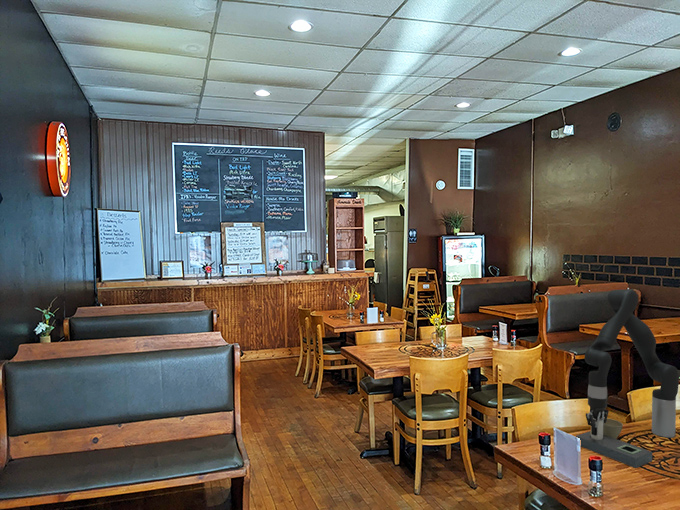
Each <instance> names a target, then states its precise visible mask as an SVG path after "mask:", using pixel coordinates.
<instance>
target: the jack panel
mask: <svg viewBox="0 0 680 510" xmlns="http://www.w3.org/2000/svg"><path fill="white" fill-rule="evenodd" d="M576 437H578V438H580V440H581V446H580V447H581V448H584V449H586V450H589V451H591V452H594V453H597V454H599V455H601V456H604V457H606V458H609V459H612V460H614V461H616V462H620V463H622V464H624V465H626V466H629V467H631V468H634V469H637V468H640V467H642V466H645V465H647V464H649V463H652V462H653V451H651V450H648V449H645V448H643V447H640V446H636V445H634V444H631V443H628V442H626V441H623V440H620V439H617V438H616V439H615V438H612V437H609V436H606V435H603V439H602V440H599V441H598V440H596V439H593V438H591V434H590V430H589V431H587V432H583V433H581V434H576V435H575V438H576Z"/></svg>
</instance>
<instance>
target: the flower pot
mask: <svg viewBox="0 0 680 510" xmlns="http://www.w3.org/2000/svg"><path fill="white" fill-rule="evenodd" d="M622 430H623V423H622V422H620V421H619V420H616V419H613V418H607V421H606V423H604V425H603V435H606V436H609V437H612V438H615V439H617V438H618V437H619V436H620V435H621V433H622Z"/></svg>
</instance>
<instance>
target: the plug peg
mask: <svg viewBox="0 0 680 510" xmlns="http://www.w3.org/2000/svg"><path fill="white" fill-rule="evenodd" d="M593 419H594V418H593ZM595 420H596V419H595ZM594 424H595V421H594ZM589 431H590V434H591V438H593V439H596V440H598V441H599V440H602V439H603V420H600V419H599V422H598V423H597V435H596V436H595V435H592V433H591V429H590V430H589Z"/></svg>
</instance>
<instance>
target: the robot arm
mask: <svg viewBox="0 0 680 510" xmlns="http://www.w3.org/2000/svg"><path fill="white" fill-rule="evenodd" d="M638 295H639V294H638V293H637V292H636V291H635V290H633V289H614V290H611V291H610V292H608V294H607V302H608V305H609V307H610V308H611V309H612V311H613V313H614V315H613V316H612V318H610V319H608V321H607V322H606V323H605V324H604V325H602V327H601V328H600V331H599V333H598V335H597V338H596V339H595V341H593V342H592V344H591V345H590V346H589V347H588V349H587V350H586V351H585V353H584V361H585V363H586V364H588V365H589V366H594V367H598V370H591V371H589V373H588V386H587V405H588V406H589V412H588V413H587V412H586V413H585V417H586V423H587V426H590V430H591V433H592V435H595V436H596V435H597V423H598V422H599V419H600V420H603V425H604V423H606V421H607V419H608V416H609V412H610V411H609V409H606V408H607V407H608V386H607V382H608V381H607V380H608V378H607V377H608V376H609V375H608V374H609V370H610V368H611V364H612V359H613V358H612V356H611V354H610V353H609V352H607V351H608V350H612V349H613V347H614V346H615V343H616V341H617V339H618V336H619V335H620V333H621V330H622V329H623V327H624V329H625V331H626V332H627V334H628V336H629V338H630V340H631V341H632V343H633V346H634V347H635V349H636V350H637V352H638V354H639V356H640V357H641V359H642V362H643V364H644V366H645V369H646V371H647V374H648V375H649V377H650V378H651V379H652V380H653V381H654V382H657V383H659V384H660V387H659V388H656V389H653V390H652V393H651V396H652V398H651V401H652V403H651V433H652V434H654V435H656V436H659V437H664V438H675V437H676V423H677V422H676V420H677V418H676V416H677V415H676V413H677V410H676V409H677V408H676V406H677V402H676V401H677V396H678V393H679V383H680V374H679V370H678V368H677V367H676V366H674V365H671V364H669V363H668V364H667V363H664V362H662V361H661V359H659V357H658V355H657V353H656V348H657V347H656V346H657V339H656V337H655V335H654V333H653V331H652V330H651V328H650V327H649V325H647V324H646V323H645V322H644V321H643V320H641V319H640V318H639V317H637V316H636V315H634V311H635V309H637V307H638V304H639V296H638ZM606 350H607V351H606ZM593 418H594V419H593ZM595 419H596V420H595ZM594 421H595V424H594Z"/></svg>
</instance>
